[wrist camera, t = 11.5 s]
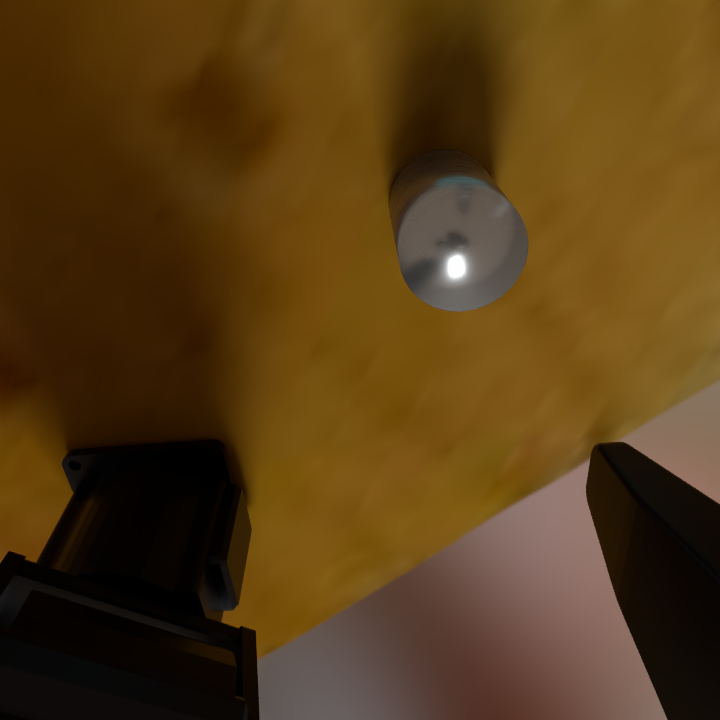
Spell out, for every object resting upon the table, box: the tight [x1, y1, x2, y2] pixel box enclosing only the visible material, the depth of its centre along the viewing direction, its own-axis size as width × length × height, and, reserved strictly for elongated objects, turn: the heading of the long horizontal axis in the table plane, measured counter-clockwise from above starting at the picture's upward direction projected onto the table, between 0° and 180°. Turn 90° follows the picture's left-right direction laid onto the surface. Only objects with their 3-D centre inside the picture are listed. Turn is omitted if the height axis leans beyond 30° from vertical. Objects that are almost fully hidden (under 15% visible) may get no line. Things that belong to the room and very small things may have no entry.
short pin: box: [389, 149, 528, 311], centre depth 18 cm, size 3×3×4 cm
